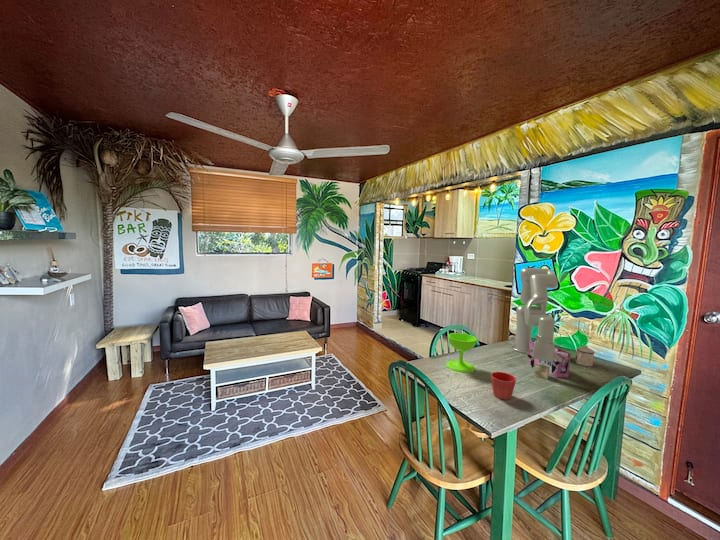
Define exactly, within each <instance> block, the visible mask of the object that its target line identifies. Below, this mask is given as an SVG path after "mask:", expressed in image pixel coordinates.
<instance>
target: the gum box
mask: <svg viewBox="0 0 720 540" xmlns="http://www.w3.org/2000/svg"><path fill="white" fill-rule="evenodd" d="M534 343H535V340H531V341H530V349H529V350H532V349H533V347H534ZM555 354H556V355H557V356H559V357H560V358H562V361H561V362H560V363H559V364H558V365H556V368H555V371H554V372H553V373H552V365H553V364H552V363H551V362H547V361H543V360H539V359H534V366H535V365H536V364H537V363H541V364H545V365H549V366H550V368H549V375H551V376H554V377H555V378H569V374H570V373H569V372H570V364H571V363H570V361H571V353H570V352H568V351H566V350H563V349H562V348H558V347H556V346H555ZM530 355H531V356H532V357H533V352H531V353H530ZM554 361H555V362H557V361H558V359H557V358H555V359H554ZM528 363H530V364H531V360H530V358H529V357H528Z"/></svg>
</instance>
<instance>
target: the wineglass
mask: <svg viewBox="0 0 720 540" xmlns="http://www.w3.org/2000/svg"><path fill="white" fill-rule="evenodd" d="M447 336H448V337H447V338H448V342H449V344H450V345H451V347H452V348H454V349H455V350H456V351H459V358H458V359H457V360H450V361H448V362H447V363H446V367H447V368H448V369H450V370H451V371H454V372H458V373H462V374H463V373H465V374H469V373H470V374H471V373H474V372H475V370H476V367H475V366H474V365H473V364H471V363H470V362H467V361H465V360H464V361H463V359H464V352H468V351H470V350H473V348H474V347H475V346H476V345H477V342H478V341H477V340H478V338H477V337H476V336H474V335H471V334H468V333H461V332H460V333H459V332H452V333H449V334H448V335H447Z"/></svg>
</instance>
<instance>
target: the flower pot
mask: <svg viewBox="0 0 720 540" xmlns="http://www.w3.org/2000/svg"><path fill="white" fill-rule="evenodd" d="M490 379H491V388H492V394H493V396H494V398H495V397H496V398H497V399H498V400H499V399H500V400H505V401H508V400H510V399H512V396H513V393H514V390H515V385H516V381H517V378H516V377H515V376H514V375H513V374H510V373H508V372H503V371H496V372H495V371H494V372H491V374H490Z"/></svg>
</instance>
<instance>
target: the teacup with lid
mask: <svg viewBox="0 0 720 540" xmlns="http://www.w3.org/2000/svg"><path fill="white" fill-rule="evenodd" d="M575 355H576V356H575V364H578V365H581V366H584V367H593V364H594V357H595V350H593V348H590V347H589V346H588V345H583V346H579V347H576V353H575Z"/></svg>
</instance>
